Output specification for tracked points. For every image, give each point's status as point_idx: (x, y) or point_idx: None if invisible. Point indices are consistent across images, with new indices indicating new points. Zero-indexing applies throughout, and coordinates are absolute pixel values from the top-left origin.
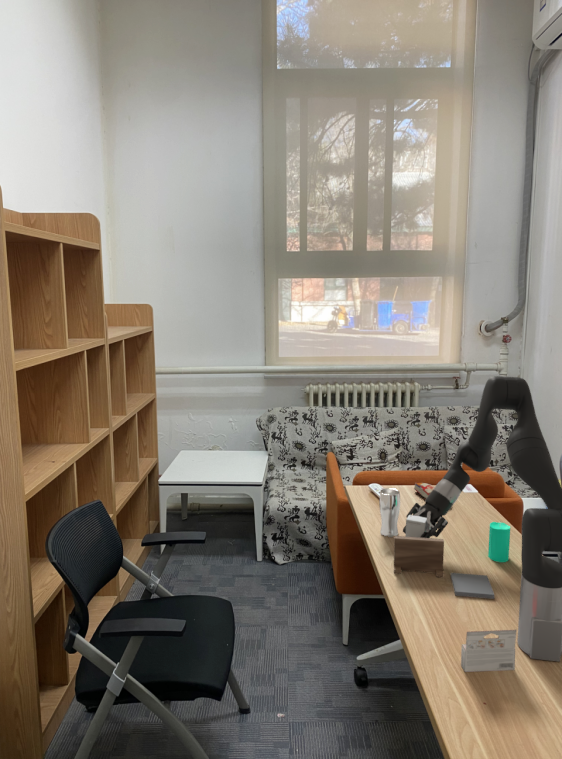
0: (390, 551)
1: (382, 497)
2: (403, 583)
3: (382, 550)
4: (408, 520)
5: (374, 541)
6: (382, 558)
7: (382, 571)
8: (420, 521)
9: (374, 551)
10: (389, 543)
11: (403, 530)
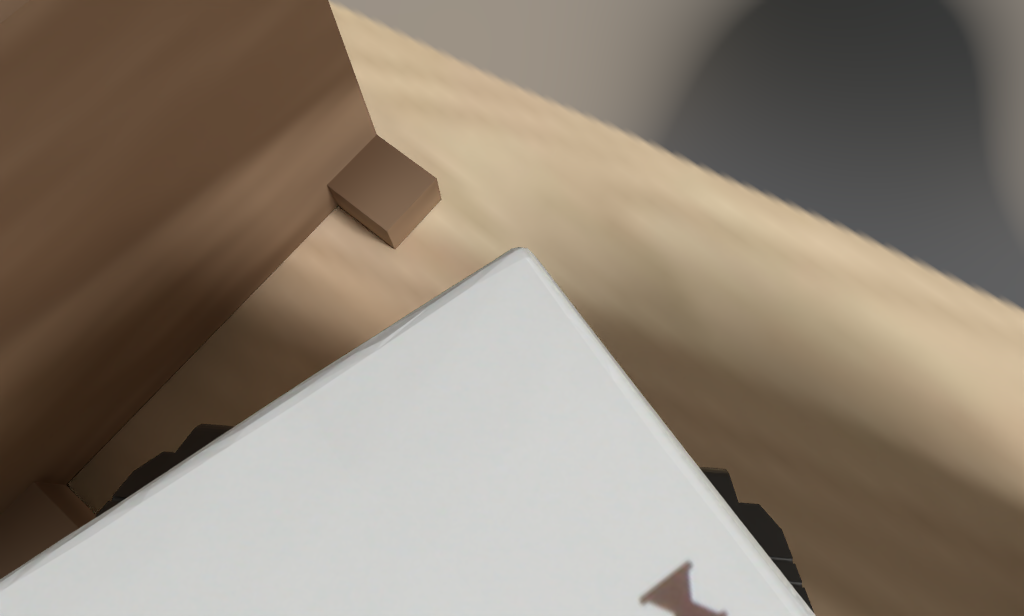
0: (680, 340)
1: None
2: None
3: (740, 278)
4: (454, 292)
5: (982, 337)
6: (586, 171)
7: (385, 31)
8: (80, 566)
9: (755, 192)
10: (868, 467)
11: (705, 468)
